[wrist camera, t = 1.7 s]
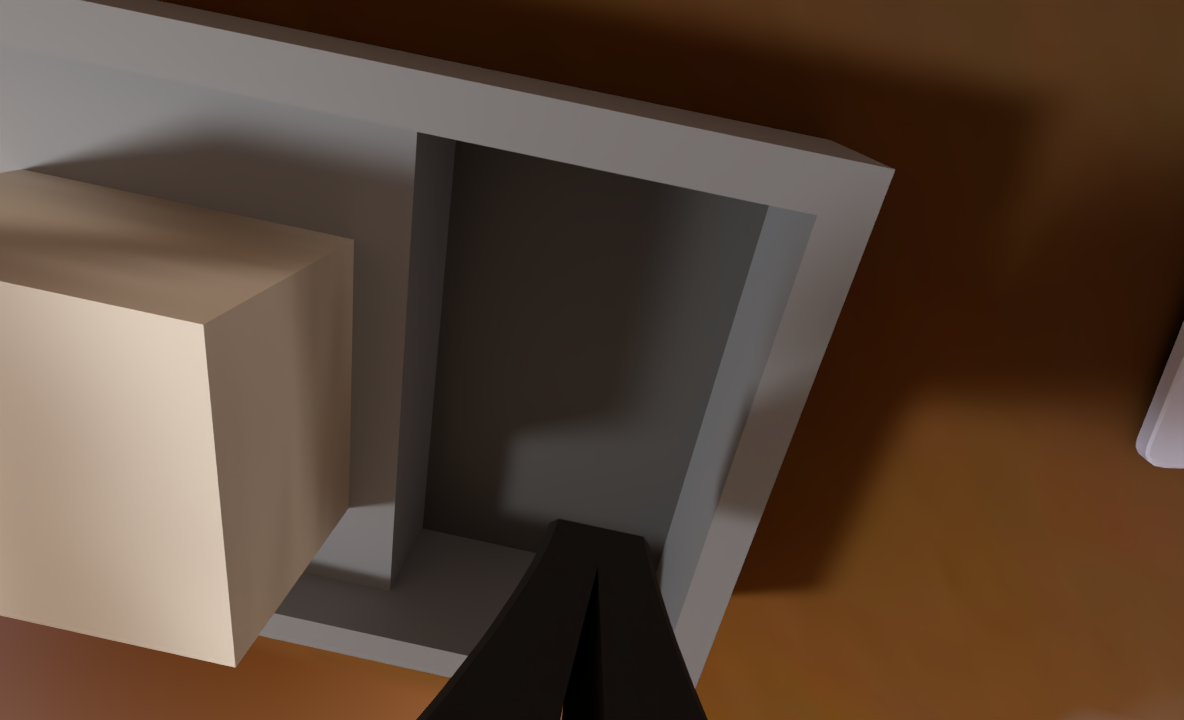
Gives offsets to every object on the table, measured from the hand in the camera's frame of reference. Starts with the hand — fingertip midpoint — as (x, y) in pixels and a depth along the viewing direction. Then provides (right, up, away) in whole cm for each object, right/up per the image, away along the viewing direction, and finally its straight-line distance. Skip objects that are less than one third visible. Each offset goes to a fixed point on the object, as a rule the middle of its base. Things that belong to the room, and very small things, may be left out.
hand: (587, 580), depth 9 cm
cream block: (-8, +3, +3) cm, 9 cm away
